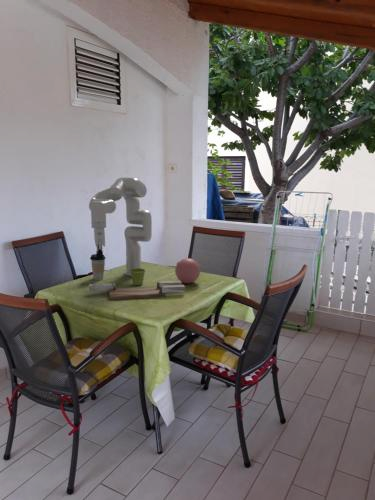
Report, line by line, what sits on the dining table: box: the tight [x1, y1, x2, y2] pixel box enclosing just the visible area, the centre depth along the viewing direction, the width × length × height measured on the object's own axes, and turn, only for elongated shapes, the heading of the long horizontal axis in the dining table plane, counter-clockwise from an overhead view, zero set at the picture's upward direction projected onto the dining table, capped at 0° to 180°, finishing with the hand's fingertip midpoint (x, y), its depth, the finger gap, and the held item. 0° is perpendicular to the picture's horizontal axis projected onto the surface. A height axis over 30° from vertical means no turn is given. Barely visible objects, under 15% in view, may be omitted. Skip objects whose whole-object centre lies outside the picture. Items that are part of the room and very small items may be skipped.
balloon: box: [174, 257, 201, 284], centre depth 251 cm, size 15×20×15 cm
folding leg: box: [88, 282, 117, 292], centre depth 226 cm, size 15×3×3 cm, turn 103°
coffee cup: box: [89, 253, 107, 281], centre depth 253 cm, size 9×9×15 cm
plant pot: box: [130, 267, 146, 286], centre depth 245 cm, size 9×9×9 cm
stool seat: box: [108, 280, 186, 301], centre depth 228 cm, size 14×42×5 cm, turn 104°
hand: (99, 258), depth 217 cm, fingers closed
